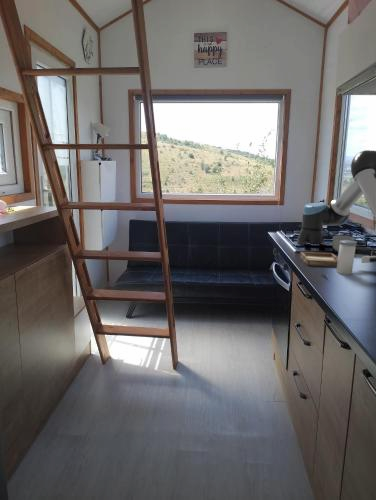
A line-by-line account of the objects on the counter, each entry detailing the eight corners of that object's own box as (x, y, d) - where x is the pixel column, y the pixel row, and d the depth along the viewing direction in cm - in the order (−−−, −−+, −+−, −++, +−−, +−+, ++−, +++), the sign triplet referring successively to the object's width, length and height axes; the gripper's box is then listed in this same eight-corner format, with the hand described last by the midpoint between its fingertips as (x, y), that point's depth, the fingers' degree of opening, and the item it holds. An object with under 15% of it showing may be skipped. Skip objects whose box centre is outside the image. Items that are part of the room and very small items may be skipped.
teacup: (354, 254, 204) (356, 240, 202) (332, 253, 206) (334, 238, 204) (349, 248, 218) (351, 234, 216) (328, 247, 220) (330, 233, 218)
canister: (332, 270, 175) (336, 240, 171) (345, 270, 176) (349, 239, 173) (342, 275, 168) (346, 243, 165) (355, 274, 170) (360, 243, 166)
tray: (299, 256, 197) (300, 251, 197) (332, 258, 196) (332, 253, 196) (307, 265, 182) (307, 260, 181) (342, 267, 181) (342, 261, 180)
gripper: (412, 269, 165) (370, 272, 160) (371, 254, 188) (333, 256, 183) (415, 252, 163) (373, 254, 158) (374, 239, 186) (335, 241, 181)
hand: (351, 255), depth 170 cm, fingers open, 13 cm apart
